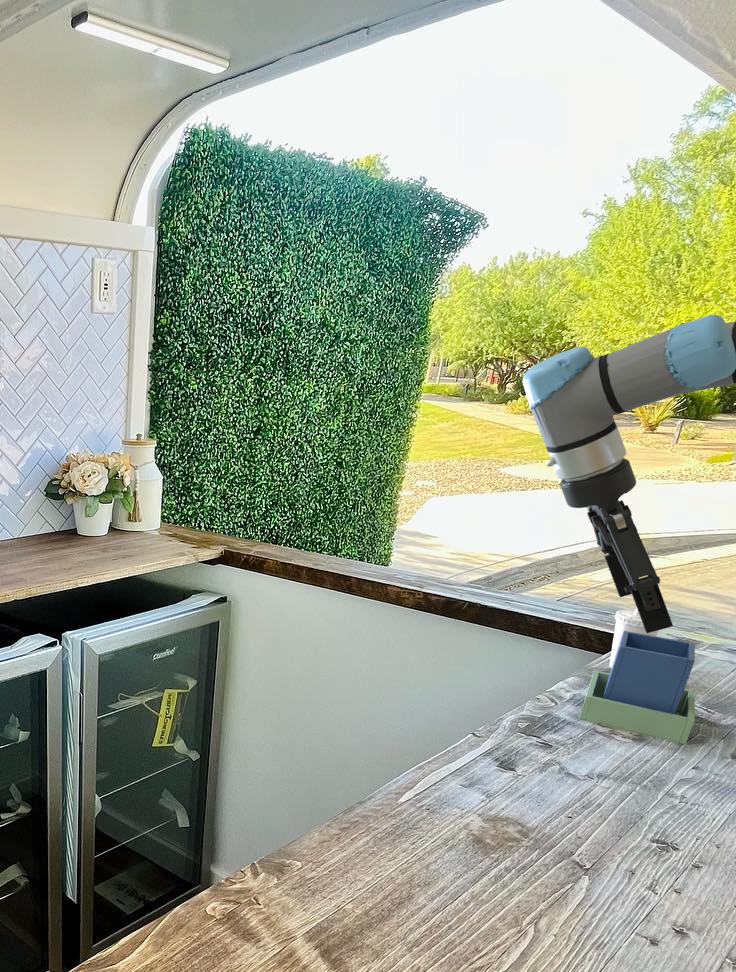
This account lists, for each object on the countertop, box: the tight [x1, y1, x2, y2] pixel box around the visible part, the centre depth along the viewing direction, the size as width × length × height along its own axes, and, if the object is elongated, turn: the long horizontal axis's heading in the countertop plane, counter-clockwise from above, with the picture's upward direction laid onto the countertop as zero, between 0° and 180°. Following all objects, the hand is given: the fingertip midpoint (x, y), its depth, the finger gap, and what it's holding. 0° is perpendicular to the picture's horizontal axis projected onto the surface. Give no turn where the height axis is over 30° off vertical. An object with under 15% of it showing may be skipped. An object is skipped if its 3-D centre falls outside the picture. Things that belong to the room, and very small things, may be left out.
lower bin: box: [578, 669, 696, 745], centre depth 110 cm, size 12×12×4 cm
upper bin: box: [602, 631, 696, 715], centre depth 108 cm, size 8×8×11 cm
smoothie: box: [608, 607, 660, 669], centre depth 123 cm, size 6×6×14 cm
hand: (644, 610), depth 104 cm, fingers open, 13 cm apart
